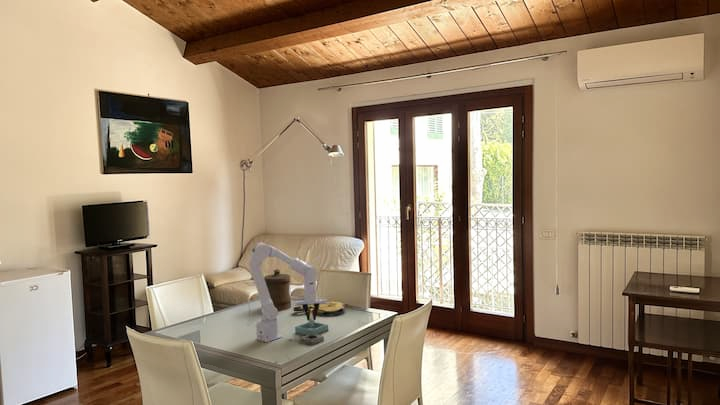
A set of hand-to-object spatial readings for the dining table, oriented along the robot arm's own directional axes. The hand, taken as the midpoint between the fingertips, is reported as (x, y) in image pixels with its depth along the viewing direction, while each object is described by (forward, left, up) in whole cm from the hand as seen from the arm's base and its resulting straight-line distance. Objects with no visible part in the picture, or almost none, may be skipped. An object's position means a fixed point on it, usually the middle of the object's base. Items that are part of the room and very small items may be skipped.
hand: (311, 319), depth 233 cm
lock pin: (0, 0, -3) cm, 3 cm away
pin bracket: (-10, -10, -6) cm, 15 cm away
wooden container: (+22, +49, -6) cm, 54 cm away
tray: (0, 0, -6) cm, 6 cm away
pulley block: (+27, +20, -6) cm, 35 cm away
